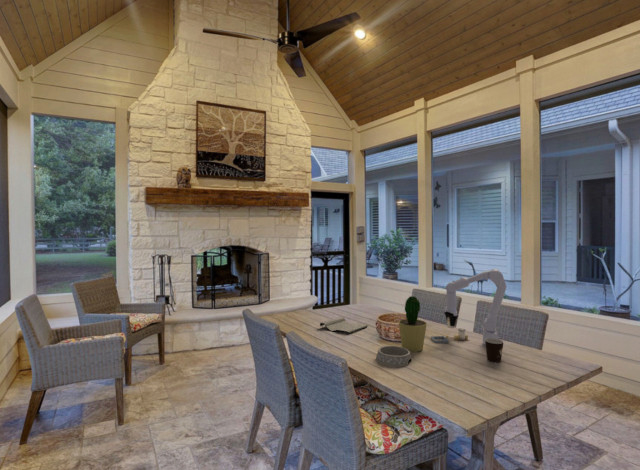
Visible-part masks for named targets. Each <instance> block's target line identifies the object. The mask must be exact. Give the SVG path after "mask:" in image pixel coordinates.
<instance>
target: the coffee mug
mask: <svg viewBox="0 0 640 470" xmlns="http://www.w3.org/2000/svg"><path fill="white" fill-rule="evenodd" d="M504 343H505V342H504V340H502V339H499V340H498V339H485V344H486V345H485V351H486V353H485V354H486V360H487V361H488V362H490V363H495V362H496V363H501V362H502V355H503V349H504Z"/></svg>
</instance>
